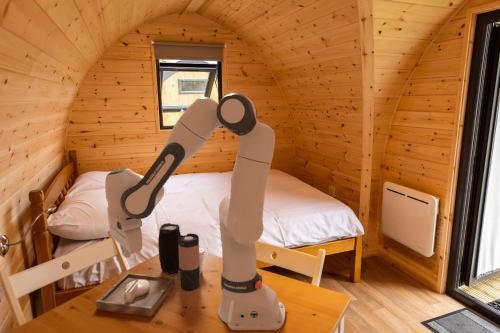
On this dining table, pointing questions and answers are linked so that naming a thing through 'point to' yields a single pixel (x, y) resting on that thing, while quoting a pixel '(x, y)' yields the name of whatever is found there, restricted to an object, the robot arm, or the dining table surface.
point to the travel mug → (189, 262)
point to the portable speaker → (169, 248)
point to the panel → (141, 304)
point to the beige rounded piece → (136, 289)
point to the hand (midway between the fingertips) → (126, 256)
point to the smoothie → (201, 257)
